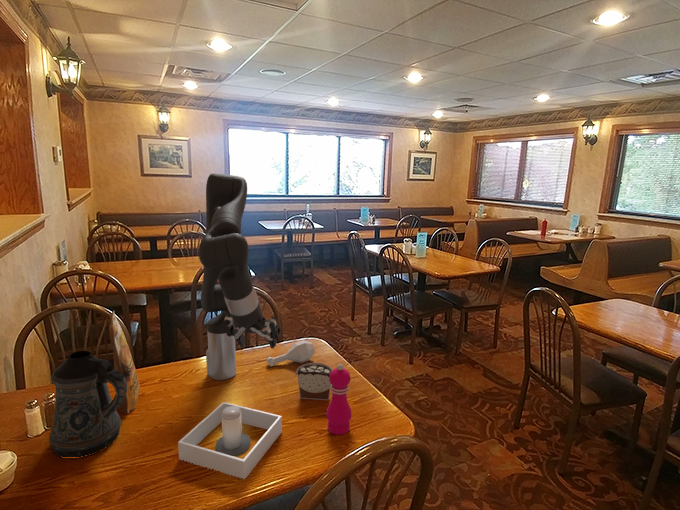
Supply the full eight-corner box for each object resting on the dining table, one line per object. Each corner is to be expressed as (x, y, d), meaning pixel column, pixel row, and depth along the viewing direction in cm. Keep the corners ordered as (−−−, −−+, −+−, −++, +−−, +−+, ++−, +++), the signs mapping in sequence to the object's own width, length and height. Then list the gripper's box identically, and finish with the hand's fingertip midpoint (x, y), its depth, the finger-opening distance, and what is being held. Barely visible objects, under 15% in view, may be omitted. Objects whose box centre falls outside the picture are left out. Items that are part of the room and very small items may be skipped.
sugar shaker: (219, 446, 108) (217, 414, 106) (230, 435, 113) (228, 404, 111) (235, 451, 107) (233, 418, 105) (245, 439, 111) (244, 408, 109)
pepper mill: (354, 423, 120) (356, 360, 116) (346, 438, 113) (348, 372, 109) (331, 418, 122) (332, 356, 118) (322, 432, 116) (323, 367, 111)
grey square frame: (179, 459, 104) (178, 442, 103) (224, 416, 122) (223, 401, 121) (244, 479, 98) (244, 461, 97) (281, 431, 116) (281, 416, 115)
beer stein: (58, 428, 115) (46, 345, 110) (135, 413, 123) (127, 335, 117) (43, 467, 100) (28, 374, 95) (131, 447, 108) (122, 360, 103)
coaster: (208, 451, 107) (208, 449, 107) (228, 431, 115) (228, 429, 115) (238, 460, 104) (238, 458, 104) (256, 438, 113) (256, 436, 112)
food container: (335, 390, 137) (336, 363, 135) (333, 400, 131) (333, 372, 129) (299, 387, 138) (299, 360, 136) (295, 397, 132) (295, 369, 130)
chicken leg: (266, 361, 158) (263, 347, 153) (310, 347, 163) (308, 333, 158) (271, 378, 152) (268, 364, 147) (317, 363, 157) (316, 349, 152)
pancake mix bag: (110, 419, 119) (100, 330, 113) (119, 386, 137) (111, 307, 131) (136, 415, 122) (127, 327, 116) (142, 383, 139) (134, 305, 133)
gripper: (275, 293, 102) (287, 335, 112) (221, 291, 104) (238, 332, 115) (266, 316, 96) (279, 358, 106) (210, 313, 99) (228, 354, 109)
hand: (258, 345), depth 110 cm, fingers open, 8 cm apart
